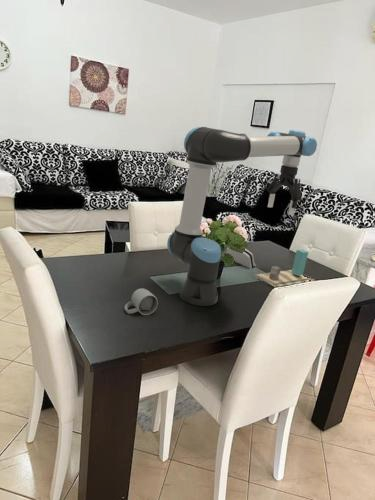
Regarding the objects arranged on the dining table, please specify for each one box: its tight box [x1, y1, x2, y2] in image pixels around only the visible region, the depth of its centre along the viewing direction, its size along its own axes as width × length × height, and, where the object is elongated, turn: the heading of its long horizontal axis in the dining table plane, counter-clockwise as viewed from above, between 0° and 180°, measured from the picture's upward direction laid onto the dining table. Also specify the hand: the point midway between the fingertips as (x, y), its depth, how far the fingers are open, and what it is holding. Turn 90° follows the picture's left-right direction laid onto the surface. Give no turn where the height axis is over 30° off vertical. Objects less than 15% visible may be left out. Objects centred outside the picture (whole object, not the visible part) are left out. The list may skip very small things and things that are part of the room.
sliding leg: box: [291, 249, 309, 276], centre depth 190 cm, size 4×4×13 cm
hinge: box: [226, 247, 257, 269], centre depth 202 cm, size 17×5×10 cm, turn 43°
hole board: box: [253, 265, 316, 287], centre depth 187 cm, size 28×14×7 cm, turn 123°
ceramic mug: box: [124, 288, 159, 316], centre depth 137 cm, size 11×8×8 cm
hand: (279, 210), depth 184 cm, fingers open, 13 cm apart
